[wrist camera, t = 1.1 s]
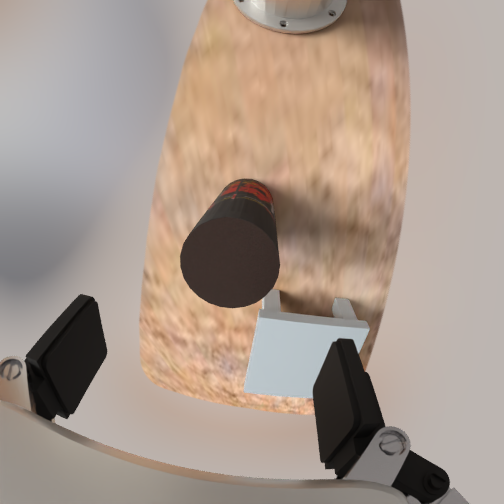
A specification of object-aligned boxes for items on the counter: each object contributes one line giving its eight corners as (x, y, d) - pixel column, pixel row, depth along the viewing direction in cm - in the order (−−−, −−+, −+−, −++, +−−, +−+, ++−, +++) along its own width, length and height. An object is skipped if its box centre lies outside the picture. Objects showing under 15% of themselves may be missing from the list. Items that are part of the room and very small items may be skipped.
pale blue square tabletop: (260, 282, 34) (259, 317, 28) (354, 295, 34) (369, 328, 28) (246, 355, 39) (243, 392, 32) (327, 363, 39) (335, 398, 32)
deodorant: (283, 214, 31) (297, 280, 17) (237, 241, 32) (217, 321, 18) (254, 168, 29) (243, 196, 15) (207, 197, 30) (161, 250, 17)
